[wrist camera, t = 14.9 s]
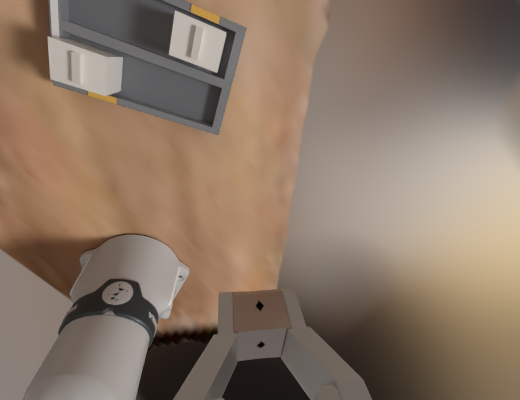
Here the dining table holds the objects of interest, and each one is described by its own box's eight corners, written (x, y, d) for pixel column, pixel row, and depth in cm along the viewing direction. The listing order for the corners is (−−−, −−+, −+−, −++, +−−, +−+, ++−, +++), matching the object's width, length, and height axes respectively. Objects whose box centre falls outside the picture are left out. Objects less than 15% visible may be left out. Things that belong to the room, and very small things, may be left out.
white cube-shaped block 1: (120, 90, 29) (103, 96, 25) (74, 76, 28) (47, 79, 24) (123, 56, 28) (104, 57, 23) (73, 39, 26) (44, 36, 22)
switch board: (218, 130, 34) (218, 135, 32) (65, 82, 29) (52, 84, 27) (245, 30, 29) (246, 28, 26) (61, -51, 23) (43, -62, 21)
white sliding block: (218, 70, 29) (216, 73, 25) (176, 54, 28) (167, 54, 24) (226, 35, 28) (226, 31, 23) (182, 16, 26) (174, 9, 22)
